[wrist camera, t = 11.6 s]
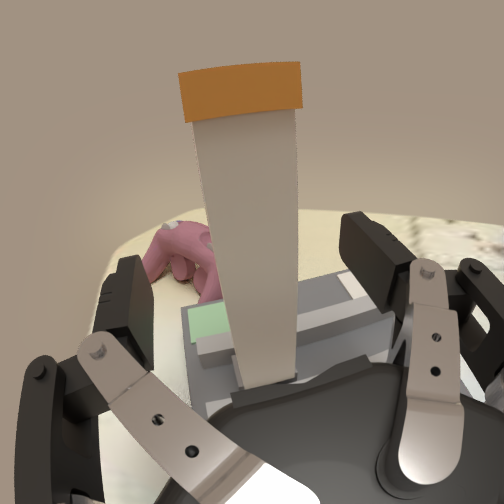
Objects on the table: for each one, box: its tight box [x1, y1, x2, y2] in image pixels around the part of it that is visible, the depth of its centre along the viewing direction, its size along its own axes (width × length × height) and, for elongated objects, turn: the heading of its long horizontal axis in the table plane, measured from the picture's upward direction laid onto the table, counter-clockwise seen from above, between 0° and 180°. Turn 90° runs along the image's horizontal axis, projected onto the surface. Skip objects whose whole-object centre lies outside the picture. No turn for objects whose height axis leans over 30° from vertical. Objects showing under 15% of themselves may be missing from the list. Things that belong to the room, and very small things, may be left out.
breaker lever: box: [178, 62, 303, 391], centre depth 11 cm, size 3×3×14 cm
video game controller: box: [142, 221, 223, 304], centre depth 25 cm, size 10×5×7 cm, turn 51°
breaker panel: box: [181, 269, 473, 420], centre depth 16 cm, size 15×14×4 cm
